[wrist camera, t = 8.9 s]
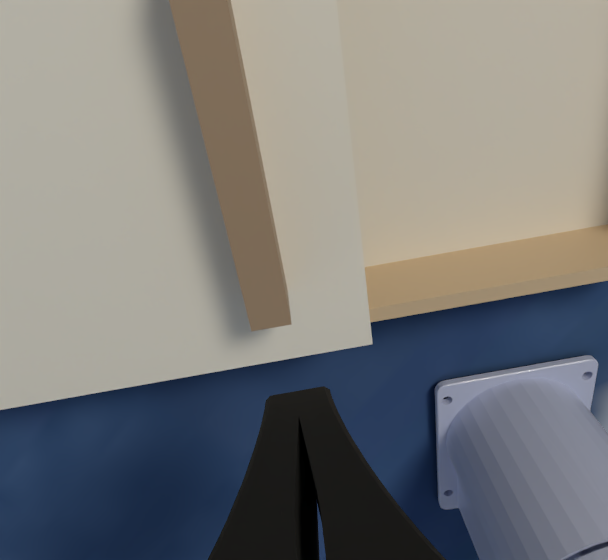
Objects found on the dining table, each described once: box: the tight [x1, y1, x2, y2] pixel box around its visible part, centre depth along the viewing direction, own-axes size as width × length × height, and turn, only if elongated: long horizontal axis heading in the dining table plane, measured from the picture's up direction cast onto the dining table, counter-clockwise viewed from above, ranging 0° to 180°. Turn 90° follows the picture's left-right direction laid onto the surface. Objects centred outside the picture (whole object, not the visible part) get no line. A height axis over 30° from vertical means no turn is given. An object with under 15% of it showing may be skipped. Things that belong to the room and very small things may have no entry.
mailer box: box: [337, 0, 608, 322], centre depth 17 cm, size 15×20×4 cm
